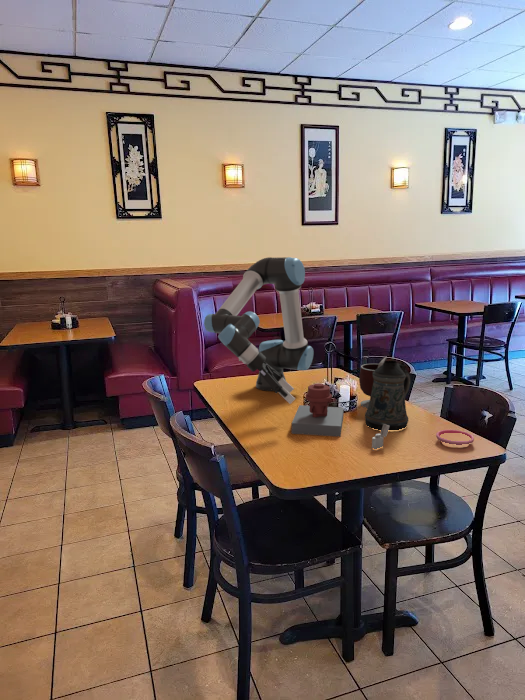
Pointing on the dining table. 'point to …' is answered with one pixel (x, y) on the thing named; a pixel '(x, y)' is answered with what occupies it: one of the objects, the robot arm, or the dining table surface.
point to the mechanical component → (318, 399)
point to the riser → (318, 422)
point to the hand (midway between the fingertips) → (292, 396)
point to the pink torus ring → (454, 441)
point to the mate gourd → (368, 379)
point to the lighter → (380, 437)
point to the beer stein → (388, 397)
